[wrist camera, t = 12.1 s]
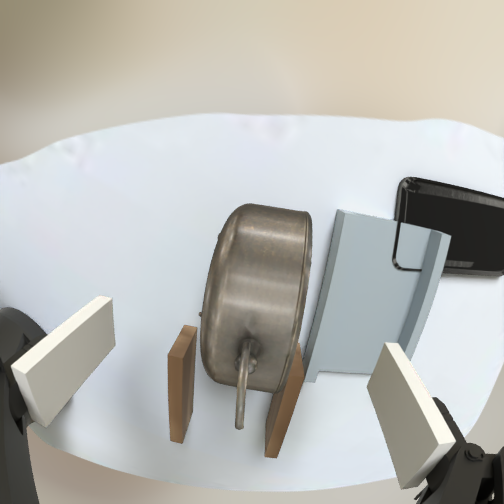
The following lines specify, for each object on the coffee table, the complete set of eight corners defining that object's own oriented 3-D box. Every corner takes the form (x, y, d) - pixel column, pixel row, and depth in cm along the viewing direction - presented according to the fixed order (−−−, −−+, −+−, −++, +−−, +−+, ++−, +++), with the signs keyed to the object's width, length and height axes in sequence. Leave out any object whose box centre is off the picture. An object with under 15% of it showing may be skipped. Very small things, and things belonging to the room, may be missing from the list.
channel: (182, 408, 29) (170, 440, 24) (184, 324, 26) (167, 355, 21) (276, 423, 28) (276, 458, 24) (299, 343, 26) (304, 376, 21)
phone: (402, 174, 21) (519, 202, 20) (397, 174, 22) (512, 201, 21) (390, 270, 23) (506, 277, 22) (385, 266, 24) (500, 274, 23)
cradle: (301, 365, 26) (303, 381, 24) (337, 209, 23) (345, 213, 20) (391, 370, 26) (399, 385, 24) (436, 230, 22) (451, 236, 20)
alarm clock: (280, 329, 25) (285, 495, 10) (218, 320, 26) (164, 477, 10) (304, 203, 23) (373, 263, 7) (234, 192, 23) (155, 230, 7)
